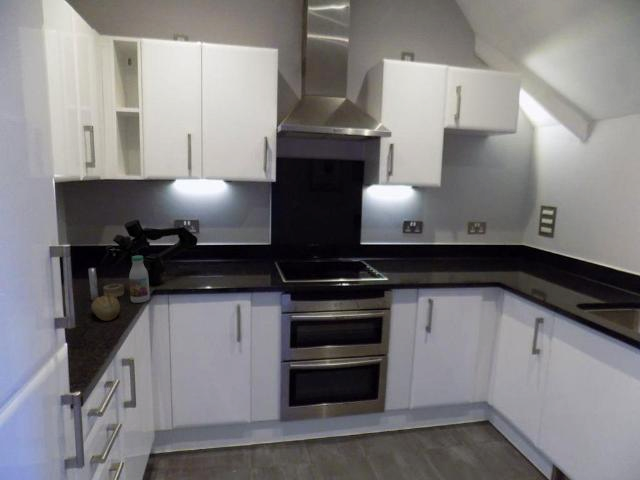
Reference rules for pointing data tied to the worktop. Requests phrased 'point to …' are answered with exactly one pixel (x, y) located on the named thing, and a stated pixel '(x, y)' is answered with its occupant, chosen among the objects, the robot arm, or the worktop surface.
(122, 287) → the tan tape roll
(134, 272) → the milk bottle
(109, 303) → the bread roll
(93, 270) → the steel peg
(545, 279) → the worktop surface
